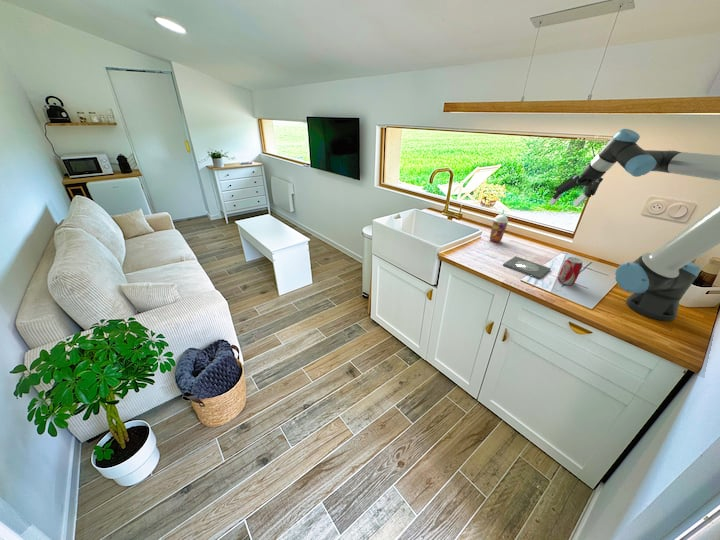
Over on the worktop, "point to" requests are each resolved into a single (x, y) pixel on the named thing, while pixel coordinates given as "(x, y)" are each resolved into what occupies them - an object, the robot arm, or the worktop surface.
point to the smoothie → (498, 228)
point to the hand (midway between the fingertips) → (562, 204)
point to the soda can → (570, 271)
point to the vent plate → (527, 267)
